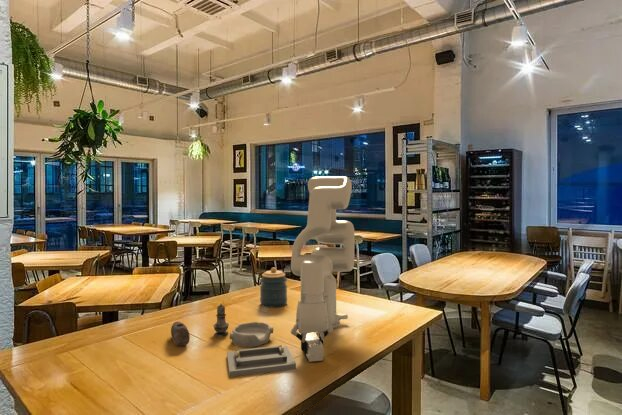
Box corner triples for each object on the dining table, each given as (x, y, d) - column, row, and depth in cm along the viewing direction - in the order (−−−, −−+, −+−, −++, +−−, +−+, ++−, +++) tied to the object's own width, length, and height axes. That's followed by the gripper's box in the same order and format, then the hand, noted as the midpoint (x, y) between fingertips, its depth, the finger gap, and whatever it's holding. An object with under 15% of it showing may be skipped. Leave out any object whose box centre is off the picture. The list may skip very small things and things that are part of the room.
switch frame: (286, 350, 134) (286, 338, 134) (296, 368, 120) (296, 355, 120) (227, 356, 129) (226, 344, 128) (229, 376, 115) (229, 362, 115)
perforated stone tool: (168, 335, 147) (168, 317, 147) (182, 333, 150) (182, 315, 149) (174, 350, 134) (174, 330, 134) (190, 347, 136) (190, 327, 136)
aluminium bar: (314, 345, 135) (314, 331, 135) (323, 360, 125) (323, 344, 124) (302, 347, 134) (301, 333, 134) (309, 361, 124) (309, 346, 123)
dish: (276, 336, 147) (276, 323, 146) (259, 351, 134) (259, 336, 133) (242, 332, 151) (242, 319, 151) (222, 345, 138) (222, 331, 138)
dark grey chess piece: (225, 337, 145) (225, 305, 144) (210, 336, 146) (210, 304, 146) (231, 332, 151) (231, 301, 150) (217, 330, 152) (217, 300, 151)
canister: (286, 307, 182) (286, 270, 181) (258, 307, 182) (258, 270, 181) (288, 299, 195) (288, 264, 194) (262, 299, 195) (261, 264, 194)
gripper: (333, 292, 134) (332, 344, 135) (284, 296, 130) (284, 349, 131) (340, 298, 127) (340, 353, 128) (289, 303, 122) (289, 359, 124)
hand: (312, 351), depth 129 cm, fingers closed on aluminium bar, 4 cm apart
